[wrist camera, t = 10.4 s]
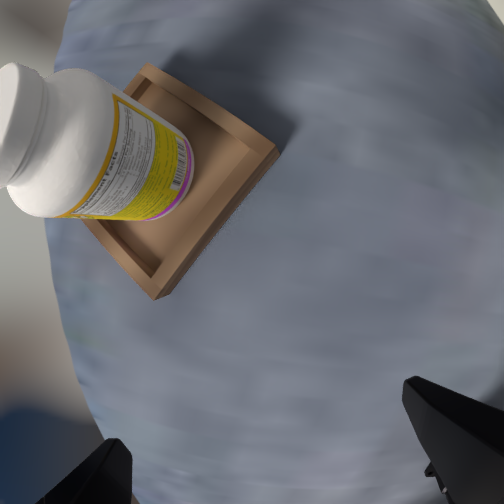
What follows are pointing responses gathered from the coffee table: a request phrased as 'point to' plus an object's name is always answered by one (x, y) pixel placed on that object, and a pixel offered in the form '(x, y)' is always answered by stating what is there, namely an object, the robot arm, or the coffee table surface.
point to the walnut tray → (201, 189)
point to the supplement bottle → (87, 149)
